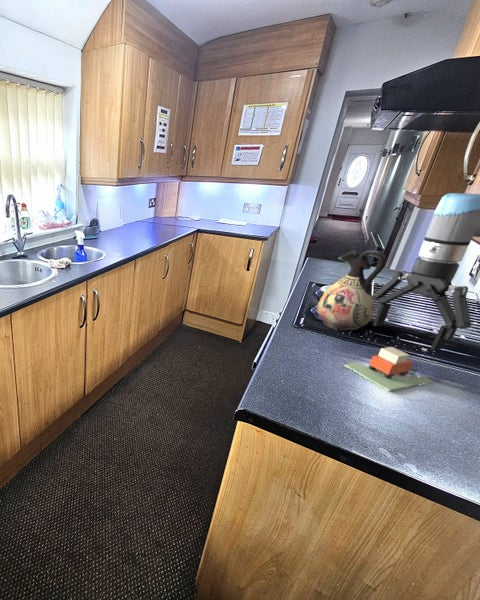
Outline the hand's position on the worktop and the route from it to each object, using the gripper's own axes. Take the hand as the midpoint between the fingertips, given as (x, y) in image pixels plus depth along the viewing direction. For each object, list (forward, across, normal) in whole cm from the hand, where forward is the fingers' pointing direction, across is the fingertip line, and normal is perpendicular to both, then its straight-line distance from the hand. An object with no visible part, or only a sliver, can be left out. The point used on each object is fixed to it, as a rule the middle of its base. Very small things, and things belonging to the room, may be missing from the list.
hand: (404, 336), depth 88 cm
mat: (+12, 0, 0) cm, 12 cm away
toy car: (+12, 0, 0) cm, 12 cm away
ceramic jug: (+12, -25, +14) cm, 31 cm away
